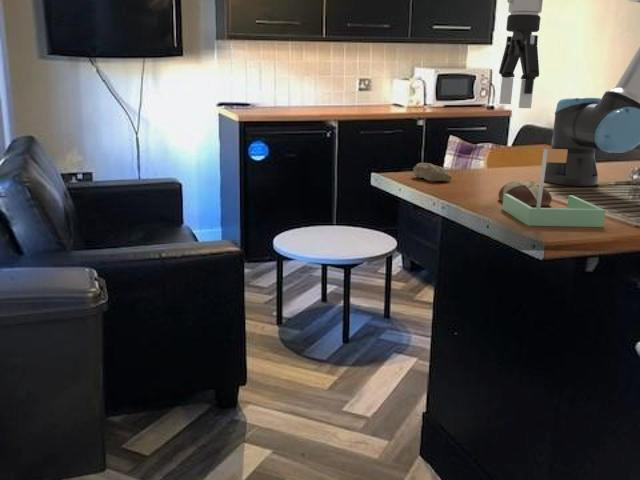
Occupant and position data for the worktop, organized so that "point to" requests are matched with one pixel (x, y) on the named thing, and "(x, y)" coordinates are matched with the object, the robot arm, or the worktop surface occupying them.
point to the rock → (431, 172)
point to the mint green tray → (573, 215)
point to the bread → (525, 193)
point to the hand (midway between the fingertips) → (514, 106)
